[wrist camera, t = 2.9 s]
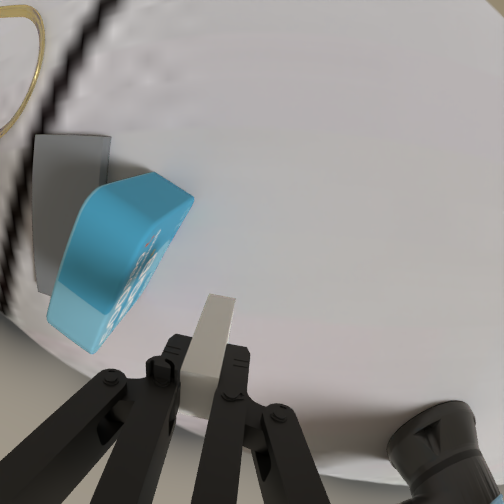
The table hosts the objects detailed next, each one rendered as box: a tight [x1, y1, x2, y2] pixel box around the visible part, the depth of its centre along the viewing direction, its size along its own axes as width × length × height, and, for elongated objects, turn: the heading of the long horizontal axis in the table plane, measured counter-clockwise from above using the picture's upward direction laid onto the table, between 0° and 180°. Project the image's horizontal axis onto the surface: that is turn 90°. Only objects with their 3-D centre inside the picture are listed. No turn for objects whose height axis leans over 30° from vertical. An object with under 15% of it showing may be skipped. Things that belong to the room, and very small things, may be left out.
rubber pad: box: [32, 134, 111, 296], centre depth 28 cm, size 18×9×2 cm, turn 170°
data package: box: [47, 172, 194, 354], centre depth 23 cm, size 12×4×12 cm, turn 147°
